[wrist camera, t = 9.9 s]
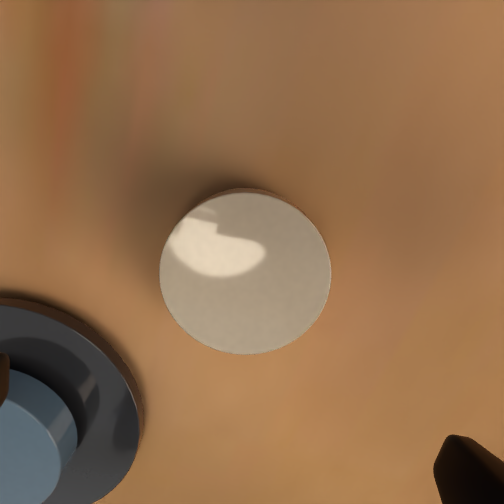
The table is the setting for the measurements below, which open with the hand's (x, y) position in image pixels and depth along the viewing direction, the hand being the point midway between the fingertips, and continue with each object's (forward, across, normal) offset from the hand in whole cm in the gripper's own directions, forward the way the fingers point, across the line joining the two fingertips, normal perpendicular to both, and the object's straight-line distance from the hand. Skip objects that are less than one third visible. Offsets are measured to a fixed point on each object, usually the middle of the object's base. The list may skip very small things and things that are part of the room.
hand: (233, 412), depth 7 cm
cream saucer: (+10, 0, 0) cm, 10 cm away
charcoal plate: (+10, +10, +11) cm, 18 cm away
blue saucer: (+9, +10, +11) cm, 17 cm away
